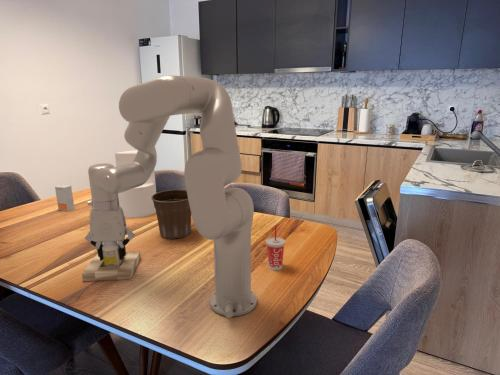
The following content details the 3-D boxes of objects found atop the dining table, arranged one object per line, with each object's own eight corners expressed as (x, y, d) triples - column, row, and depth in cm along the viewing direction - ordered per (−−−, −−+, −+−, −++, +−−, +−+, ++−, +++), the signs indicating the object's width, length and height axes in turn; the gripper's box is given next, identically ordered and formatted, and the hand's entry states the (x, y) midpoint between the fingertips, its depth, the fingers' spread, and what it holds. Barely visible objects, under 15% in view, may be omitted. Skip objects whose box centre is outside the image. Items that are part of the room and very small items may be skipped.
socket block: (130, 279, 107) (129, 271, 106) (82, 281, 106) (81, 273, 105) (140, 258, 120) (140, 251, 119) (98, 259, 119) (97, 253, 118)
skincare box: (58, 210, 170) (54, 186, 166) (65, 207, 174) (61, 184, 170) (68, 211, 168) (64, 187, 165) (75, 208, 172) (71, 185, 169)
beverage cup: (264, 270, 111) (265, 229, 107) (266, 261, 117) (266, 222, 113) (284, 272, 110) (285, 230, 106) (285, 262, 116) (285, 223, 112)
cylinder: (128, 205, 176) (122, 150, 169) (162, 205, 175) (157, 150, 168) (113, 217, 159) (106, 156, 152) (151, 217, 159) (146, 156, 151)
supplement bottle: (116, 260, 116) (113, 233, 114) (125, 265, 113) (122, 237, 110) (101, 266, 112) (97, 238, 110) (110, 272, 109) (106, 243, 106)
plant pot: (183, 244, 131) (180, 203, 127) (146, 238, 136) (142, 199, 132) (202, 228, 146) (200, 191, 142) (168, 224, 151) (166, 188, 147)
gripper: (72, 209, 103) (80, 265, 108) (131, 207, 104) (137, 262, 109) (81, 201, 110) (89, 254, 115) (137, 199, 111) (142, 252, 116)
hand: (112, 257), depth 112 cm, fingers closed on supplement bottle, 5 cm apart
